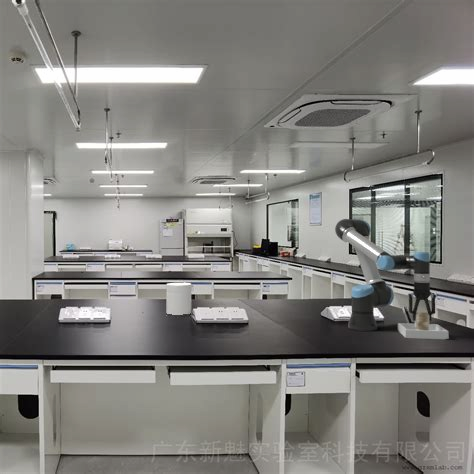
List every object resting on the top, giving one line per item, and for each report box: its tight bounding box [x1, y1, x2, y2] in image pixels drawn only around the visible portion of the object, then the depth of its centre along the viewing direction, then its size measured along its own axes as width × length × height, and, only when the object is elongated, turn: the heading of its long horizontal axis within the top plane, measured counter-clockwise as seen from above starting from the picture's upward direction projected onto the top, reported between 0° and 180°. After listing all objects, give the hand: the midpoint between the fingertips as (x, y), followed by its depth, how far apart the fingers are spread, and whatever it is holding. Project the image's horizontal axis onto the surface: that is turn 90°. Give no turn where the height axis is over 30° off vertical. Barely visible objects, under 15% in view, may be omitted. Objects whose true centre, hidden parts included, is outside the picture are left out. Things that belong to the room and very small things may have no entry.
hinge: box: [402, 305, 415, 323], centre depth 258 cm, size 17×5×10 cm, turn 160°
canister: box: [165, 282, 192, 315], centre depth 278 cm, size 16×16×20 cm
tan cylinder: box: [416, 311, 430, 330], centre depth 220 cm, size 5×5×9 cm
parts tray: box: [397, 322, 450, 340], centre depth 220 cm, size 20×18×4 cm
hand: (422, 327), depth 220 cm, fingers closed on tan cylinder, 5 cm apart
